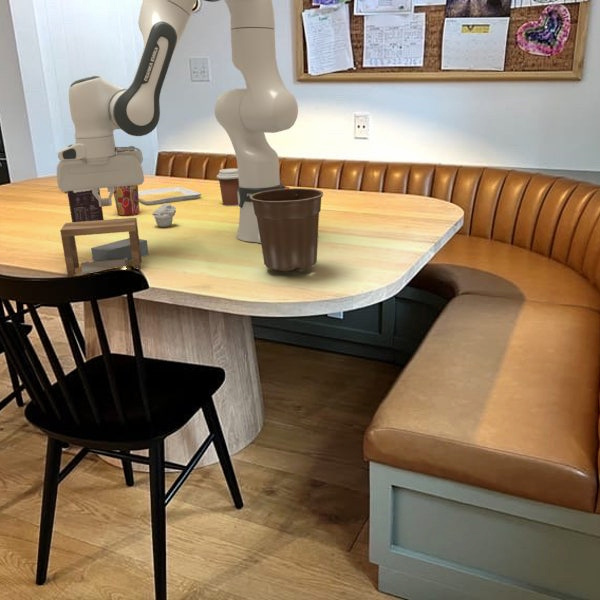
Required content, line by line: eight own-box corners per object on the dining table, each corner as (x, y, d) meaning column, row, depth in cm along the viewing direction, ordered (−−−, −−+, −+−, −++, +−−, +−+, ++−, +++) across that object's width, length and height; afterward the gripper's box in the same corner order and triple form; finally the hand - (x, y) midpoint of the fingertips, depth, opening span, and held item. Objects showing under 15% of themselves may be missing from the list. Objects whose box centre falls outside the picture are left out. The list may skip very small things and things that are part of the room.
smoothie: (147, 216, 204) (140, 152, 197) (124, 220, 198) (116, 155, 192) (133, 213, 209) (125, 151, 203) (110, 217, 204) (102, 154, 197)
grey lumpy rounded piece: (178, 228, 185) (175, 204, 183) (153, 230, 184) (150, 206, 182) (177, 224, 191) (175, 201, 188) (153, 226, 190) (151, 202, 187)
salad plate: (203, 202, 226) (202, 192, 225) (147, 210, 215) (146, 200, 214) (179, 194, 243) (178, 185, 242) (125, 202, 232) (124, 192, 231)
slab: (133, 252, 162) (131, 237, 160) (148, 255, 158) (146, 240, 157) (93, 264, 153) (91, 248, 151) (108, 267, 149) (106, 251, 148)
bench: (72, 266, 150) (65, 222, 147) (141, 260, 153) (136, 217, 149) (67, 275, 143) (60, 230, 139) (140, 269, 146) (134, 224, 142)
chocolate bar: (103, 230, 187) (95, 168, 181) (105, 230, 186) (96, 168, 180) (74, 235, 181) (64, 172, 175) (75, 236, 180) (65, 172, 174)
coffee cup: (248, 206, 214) (246, 170, 210) (222, 209, 211) (219, 172, 207) (241, 201, 222) (239, 167, 218) (216, 204, 219) (213, 169, 215)
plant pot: (242, 271, 141) (237, 199, 136) (271, 252, 155) (267, 187, 150) (310, 276, 136) (308, 201, 130) (334, 256, 150) (332, 188, 144)
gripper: (141, 144, 156) (149, 199, 161) (54, 150, 153) (65, 207, 157) (140, 146, 150) (148, 204, 155) (50, 153, 147) (61, 212, 152)
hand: (105, 205), depth 156 cm, fingers closed
